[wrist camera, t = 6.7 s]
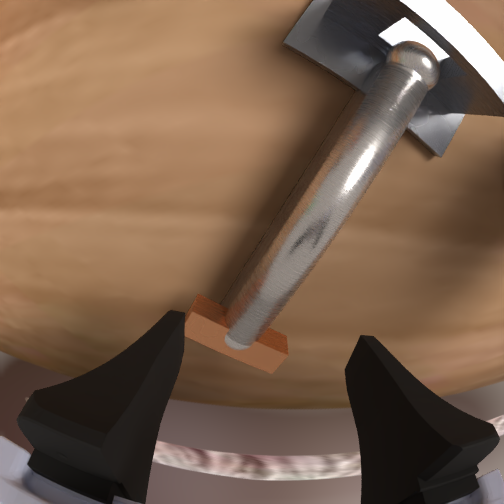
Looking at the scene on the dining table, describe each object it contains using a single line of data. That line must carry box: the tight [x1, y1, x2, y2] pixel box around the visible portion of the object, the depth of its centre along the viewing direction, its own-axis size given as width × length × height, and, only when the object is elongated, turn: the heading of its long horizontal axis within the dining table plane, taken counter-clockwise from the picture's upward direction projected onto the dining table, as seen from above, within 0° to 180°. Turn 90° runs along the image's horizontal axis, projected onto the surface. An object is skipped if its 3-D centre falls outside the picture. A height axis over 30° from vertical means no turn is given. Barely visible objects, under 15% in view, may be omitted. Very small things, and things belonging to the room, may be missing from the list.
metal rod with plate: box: [185, 40, 440, 374], centre depth 14 cm, size 6×20×3 cm, turn 150°
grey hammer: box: [220, 0, 504, 309], centre depth 14 cm, size 12×26×7 cm, turn 150°
